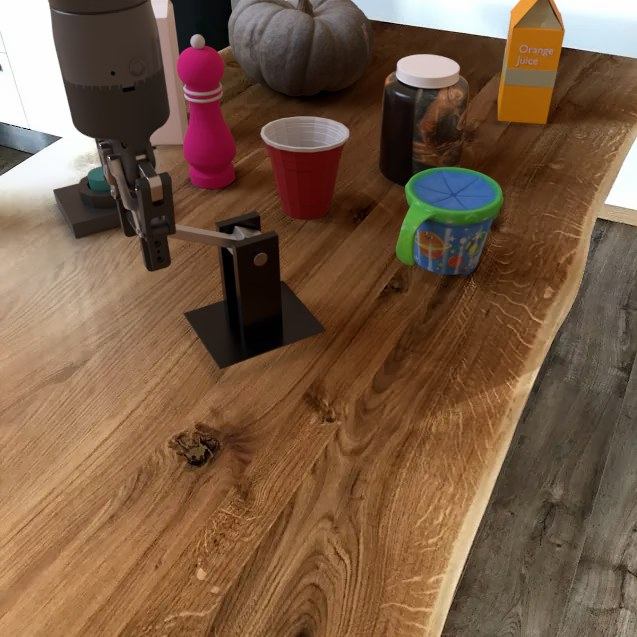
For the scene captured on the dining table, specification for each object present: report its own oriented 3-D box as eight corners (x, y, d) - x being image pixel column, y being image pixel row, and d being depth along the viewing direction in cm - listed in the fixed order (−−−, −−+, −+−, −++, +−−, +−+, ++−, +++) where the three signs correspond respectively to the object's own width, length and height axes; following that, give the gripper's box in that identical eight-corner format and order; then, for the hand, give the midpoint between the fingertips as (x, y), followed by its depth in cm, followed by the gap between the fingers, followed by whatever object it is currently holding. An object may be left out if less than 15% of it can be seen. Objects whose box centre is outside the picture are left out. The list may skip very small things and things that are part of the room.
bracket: (221, 378, 72) (207, 273, 64) (184, 322, 79) (168, 220, 71) (326, 339, 77) (326, 236, 68) (283, 289, 83) (279, 190, 75)
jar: (365, 178, 103) (369, 73, 94) (395, 144, 111) (401, 44, 102) (445, 196, 99) (458, 88, 90) (470, 159, 107) (484, 57, 98)
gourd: (195, 69, 128) (204, -37, 118) (291, 55, 145) (306, -39, 135) (298, 124, 117) (319, 12, 106) (389, 102, 133) (414, 3, 123)
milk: (151, 129, 116) (126, -20, 102) (189, 128, 116) (170, -20, 102) (144, 146, 111) (118, -7, 97) (184, 145, 111) (163, -8, 98)
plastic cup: (355, 198, 99) (357, 114, 91) (338, 241, 91) (340, 153, 83) (277, 189, 101) (274, 106, 93) (255, 231, 93) (248, 143, 85)
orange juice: (543, 102, 123) (568, -25, 110) (546, 124, 116) (574, -8, 104) (496, 99, 124) (515, -28, 111) (496, 120, 117) (517, -11, 105)
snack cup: (460, 223, 94) (470, 151, 87) (523, 261, 87) (539, 186, 81) (365, 265, 87) (369, 189, 80) (426, 310, 80) (434, 231, 74)
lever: (139, 251, 62) (148, 226, 61) (120, 221, 66) (128, 197, 65) (267, 271, 70) (276, 249, 69) (243, 243, 74) (252, 222, 73)
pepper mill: (225, 195, 100) (210, 47, 87) (178, 186, 102) (156, 41, 89) (246, 170, 105) (235, 28, 92) (201, 163, 107) (184, 22, 94)
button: (95, 195, 93) (92, 183, 92) (86, 182, 95) (83, 170, 94) (125, 187, 94) (123, 175, 93) (116, 174, 97) (114, 163, 96)
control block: (75, 239, 91) (68, 211, 89) (56, 203, 98) (49, 177, 96) (167, 214, 96) (162, 187, 93) (142, 182, 103) (137, 156, 100)
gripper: (39, 42, 58) (83, 223, 69) (88, 107, 48) (131, 306, 59) (130, 27, 61) (159, 203, 72) (194, 85, 51) (217, 279, 62)
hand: (146, 249), depth 65 cm, fingers closed on lever, 5 cm apart
